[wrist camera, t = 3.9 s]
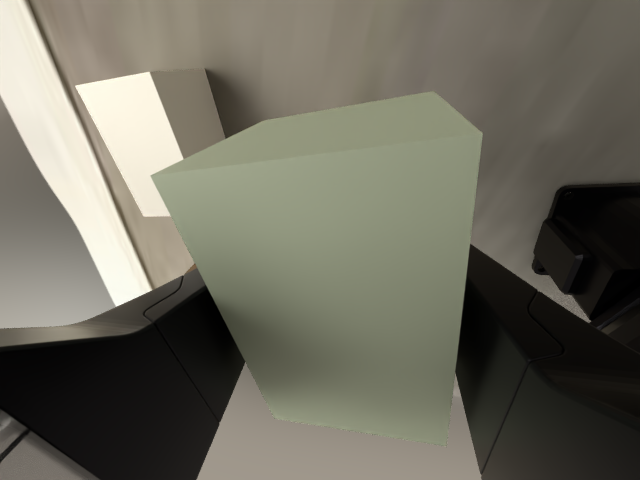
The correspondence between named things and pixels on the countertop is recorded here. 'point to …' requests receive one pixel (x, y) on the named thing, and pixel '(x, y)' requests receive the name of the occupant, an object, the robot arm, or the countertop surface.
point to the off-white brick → (153, 125)
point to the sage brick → (340, 257)
